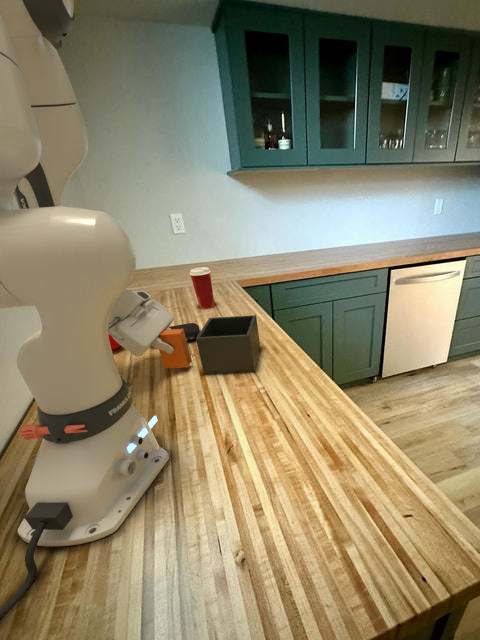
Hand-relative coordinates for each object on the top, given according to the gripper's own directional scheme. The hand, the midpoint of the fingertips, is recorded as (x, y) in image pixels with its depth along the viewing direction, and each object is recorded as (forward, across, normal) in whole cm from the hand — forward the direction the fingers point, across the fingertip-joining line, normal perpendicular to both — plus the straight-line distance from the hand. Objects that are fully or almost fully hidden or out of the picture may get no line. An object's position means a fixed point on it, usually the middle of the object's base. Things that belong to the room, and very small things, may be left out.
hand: (176, 347), depth 83 cm
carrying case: (-1, +19, +10) cm, 22 cm away
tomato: (-14, +15, +22) cm, 31 cm away
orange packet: (+3, 0, +4) cm, 5 cm away
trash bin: (+13, +3, -5) cm, 15 cm away
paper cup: (0, +50, +8) cm, 51 cm away
